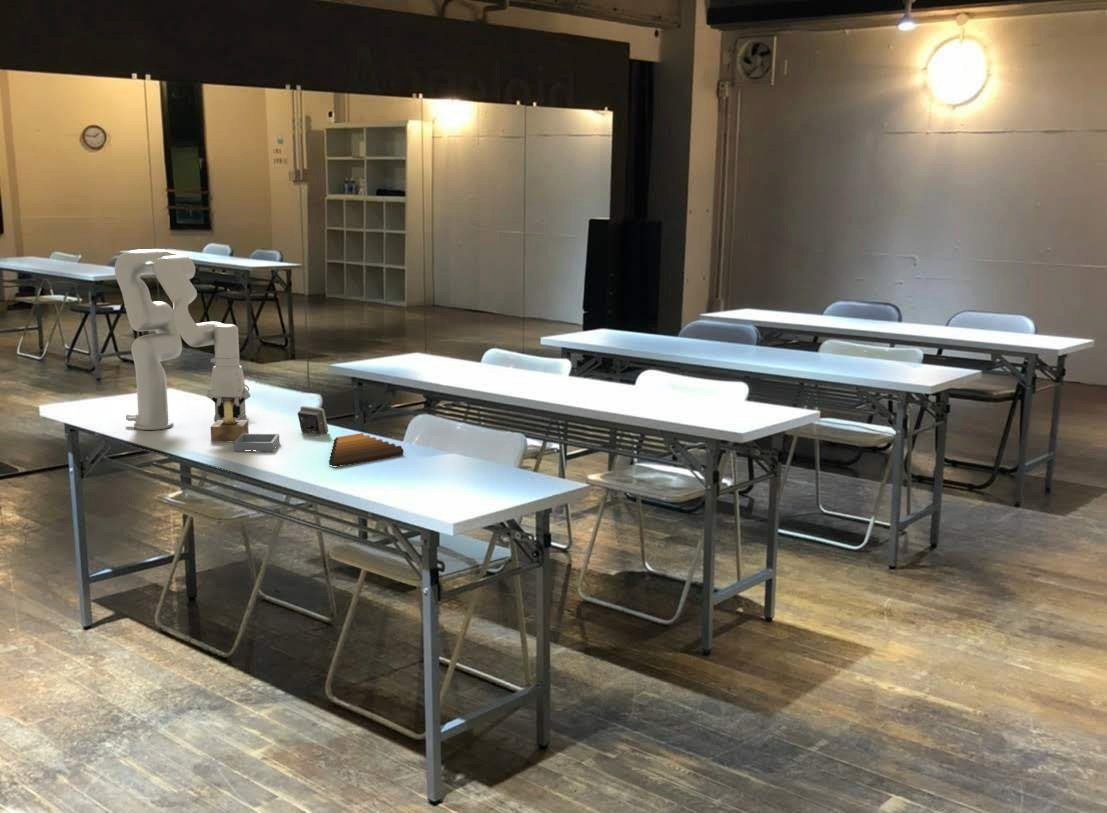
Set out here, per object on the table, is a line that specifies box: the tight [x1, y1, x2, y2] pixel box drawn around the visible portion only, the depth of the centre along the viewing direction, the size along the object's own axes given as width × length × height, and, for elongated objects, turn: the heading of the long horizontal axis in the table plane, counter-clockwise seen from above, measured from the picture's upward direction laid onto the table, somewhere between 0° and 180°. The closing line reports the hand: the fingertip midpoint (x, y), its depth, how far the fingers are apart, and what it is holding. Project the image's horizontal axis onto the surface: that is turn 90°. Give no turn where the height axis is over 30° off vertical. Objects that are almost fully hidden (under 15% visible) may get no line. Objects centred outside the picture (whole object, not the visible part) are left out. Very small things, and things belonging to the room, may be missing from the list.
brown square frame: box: [210, 419, 250, 442], centre depth 341 cm, size 10×10×5 cm
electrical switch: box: [297, 405, 329, 436], centre depth 351 cm, size 9×5×9 cm, turn 67°
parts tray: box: [233, 433, 280, 452], centre depth 331 cm, size 12×12×3 cm
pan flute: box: [328, 432, 405, 466], centre depth 327 cm, size 25×3×25 cm
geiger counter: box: [213, 384, 250, 423], centre depth 363 cm, size 14×6×25 cm
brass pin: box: [222, 398, 236, 425], centre depth 340 cm, size 4×4×14 cm
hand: (229, 416), depth 340 cm, fingers closed on brass pin, 4 cm apart
